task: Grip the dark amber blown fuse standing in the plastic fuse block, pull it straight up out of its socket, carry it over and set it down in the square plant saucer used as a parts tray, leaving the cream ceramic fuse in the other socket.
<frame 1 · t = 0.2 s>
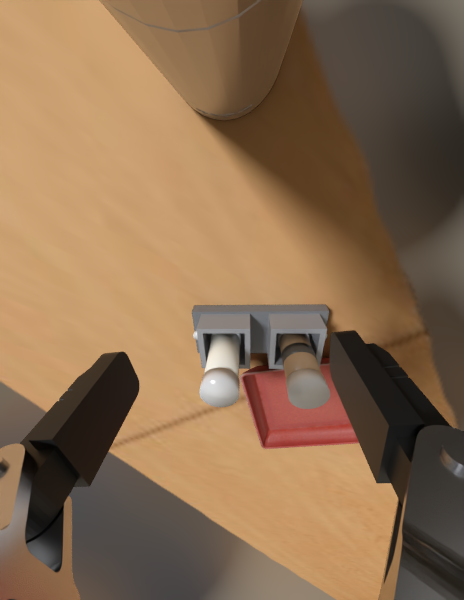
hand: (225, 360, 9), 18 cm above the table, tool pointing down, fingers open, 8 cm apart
fuse block: (258, 326, 30), on the table
plant saucer: (307, 391, 36), on the table
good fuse: (226, 333, 29), point 1 cm above the table, touching fuse block
blown fuse: (291, 333, 28), point 1 cm above the table, touching fuse block
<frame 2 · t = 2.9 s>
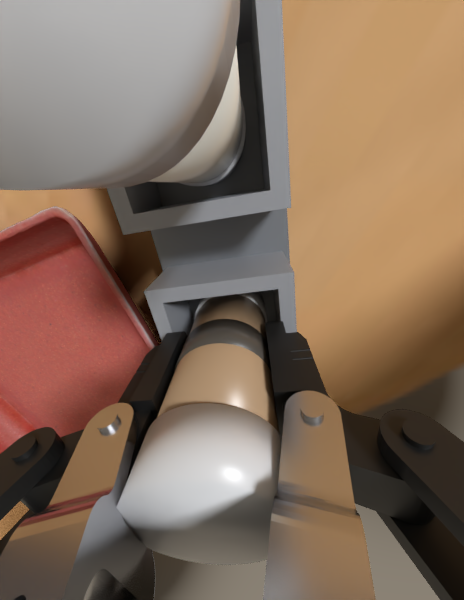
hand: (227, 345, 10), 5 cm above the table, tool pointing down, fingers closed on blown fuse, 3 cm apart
fuse block: (222, 231, 12), on the table
plant saucer: (77, 359, 18), on the table
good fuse: (200, 135, 9), point 1 cm above the table, touching fuse block
blown fuse: (232, 310, 13), point 1 cm above the table, touching fuse block, gripper
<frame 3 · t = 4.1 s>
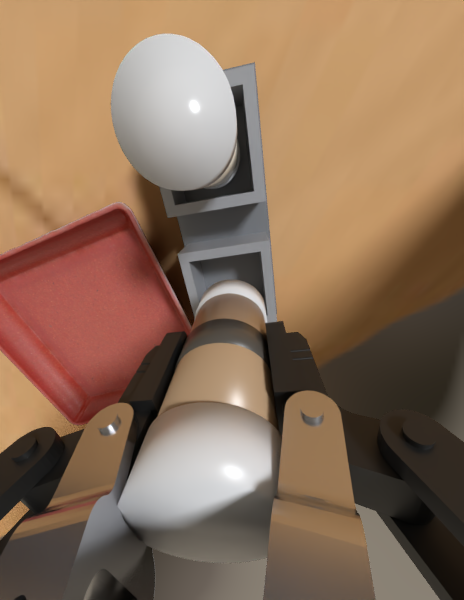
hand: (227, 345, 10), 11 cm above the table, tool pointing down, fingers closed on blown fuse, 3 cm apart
fuse block: (224, 219, 18), on the table
plant saucer: (112, 322, 23), on the table
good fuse: (212, 157, 15), point 1 cm above the table, touching fuse block
blown fuse: (232, 309, 13), point 8 cm above the table, touching gripper
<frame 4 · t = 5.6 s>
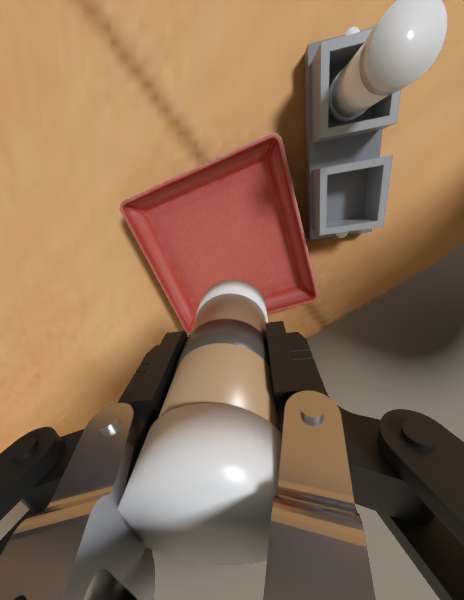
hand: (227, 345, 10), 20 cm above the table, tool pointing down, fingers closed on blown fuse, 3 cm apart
fuse block: (339, 152, 23), on the table
plant saucer: (226, 247, 29), on the table
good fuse: (346, 97, 20), point 1 cm above the table, touching fuse block
blown fuse: (232, 310, 13), point 17 cm above the table, touching gripper
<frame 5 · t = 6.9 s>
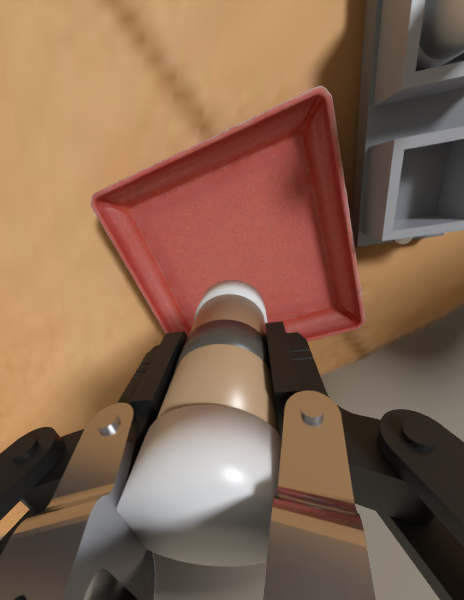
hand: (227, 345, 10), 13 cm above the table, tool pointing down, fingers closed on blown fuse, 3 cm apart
fuse block: (405, 123, 16), on the table
plant saucer: (239, 256, 22), on the table
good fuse: (432, 31, 13), point 1 cm above the table, touching fuse block
blown fuse: (232, 310, 13), point 10 cm above the table, touching gripper
when the fingers open (7 cm above the table, at t = 8.1 s): blown fuse drops 1 cm, point 3 cm above the table.
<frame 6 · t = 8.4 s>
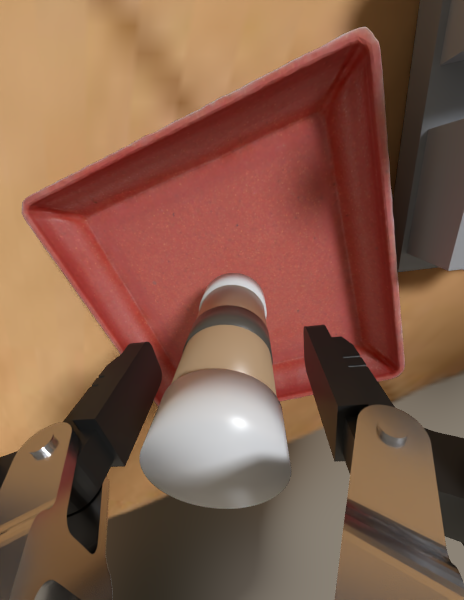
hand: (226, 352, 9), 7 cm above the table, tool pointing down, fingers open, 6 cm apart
plant saucer: (235, 279, 17), on the table
blown fuse: (233, 301, 14), point 3 cm above the table
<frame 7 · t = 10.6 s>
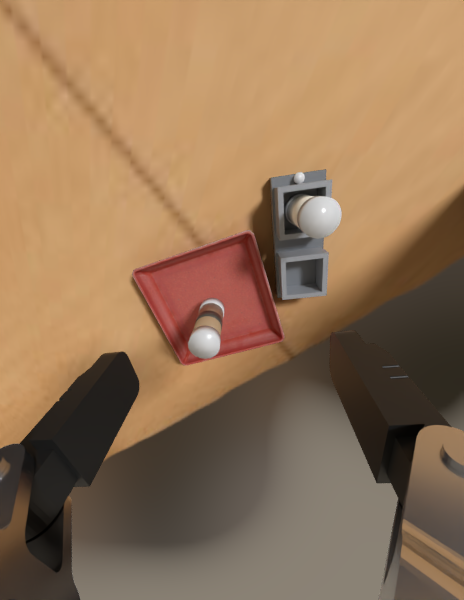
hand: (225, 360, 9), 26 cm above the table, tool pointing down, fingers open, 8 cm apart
fuse block: (296, 239, 32), on the table
plant saucer: (214, 298, 37), on the table, touching blown fuse
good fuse: (298, 209, 29), point 1 cm above the table, touching fuse block
blown fuse: (212, 308, 34), point 3 cm above the table, touching plant saucer
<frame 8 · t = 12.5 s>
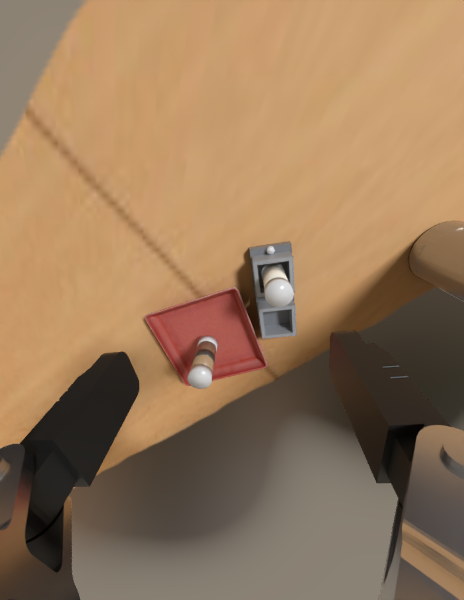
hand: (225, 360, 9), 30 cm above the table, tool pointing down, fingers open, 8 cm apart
fuse block: (273, 289, 40), on the table
plant saucer: (210, 332, 46), on the table, touching blown fuse
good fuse: (272, 271, 37), point 1 cm above the table, touching fuse block
blown fuse: (208, 343, 43), point 3 cm above the table, touching plant saucer
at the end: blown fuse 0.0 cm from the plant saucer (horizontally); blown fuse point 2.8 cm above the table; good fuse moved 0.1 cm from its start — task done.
